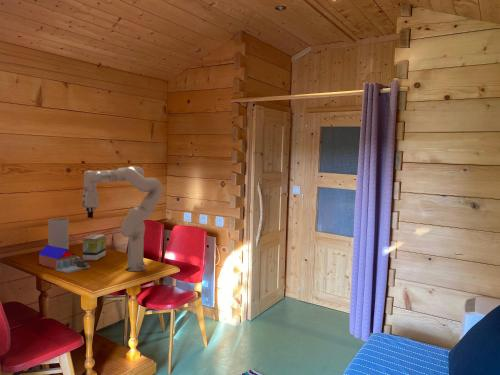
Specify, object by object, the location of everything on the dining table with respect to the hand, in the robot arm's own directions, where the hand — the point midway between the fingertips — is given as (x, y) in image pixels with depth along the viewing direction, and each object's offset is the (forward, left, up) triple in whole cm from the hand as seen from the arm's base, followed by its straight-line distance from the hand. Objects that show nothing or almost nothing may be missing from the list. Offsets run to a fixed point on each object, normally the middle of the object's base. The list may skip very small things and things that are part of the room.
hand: (90, 217), depth 255 cm
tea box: (+6, -9, -29) cm, 31 cm away
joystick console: (-6, +17, -29) cm, 34 cm away
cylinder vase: (+30, +1, -29) cm, 42 cm away
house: (+9, +17, -29) cm, 35 cm away
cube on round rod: (-9, +13, -28) cm, 32 cm away
